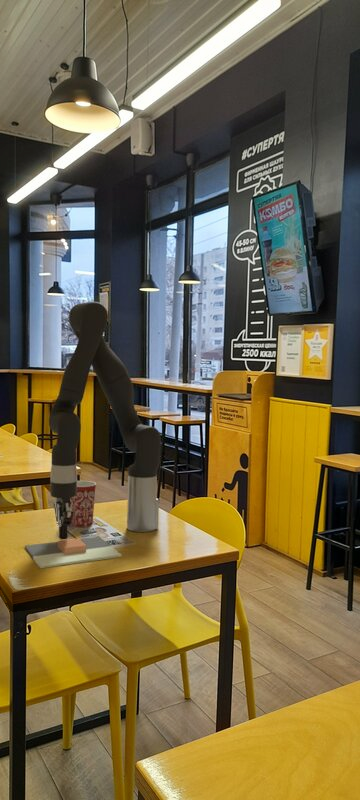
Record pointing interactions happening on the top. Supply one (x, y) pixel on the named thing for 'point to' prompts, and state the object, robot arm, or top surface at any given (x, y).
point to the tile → (71, 546)
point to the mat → (54, 556)
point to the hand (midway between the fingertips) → (63, 538)
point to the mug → (83, 504)
